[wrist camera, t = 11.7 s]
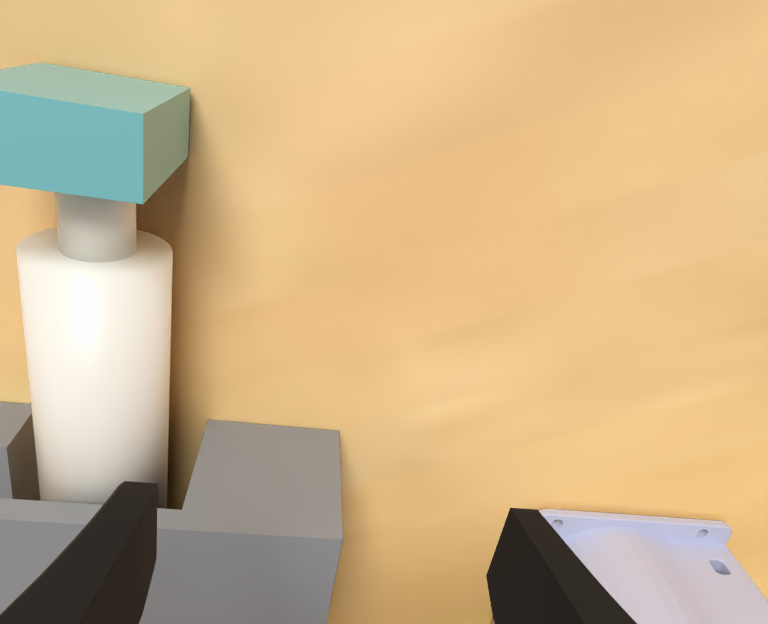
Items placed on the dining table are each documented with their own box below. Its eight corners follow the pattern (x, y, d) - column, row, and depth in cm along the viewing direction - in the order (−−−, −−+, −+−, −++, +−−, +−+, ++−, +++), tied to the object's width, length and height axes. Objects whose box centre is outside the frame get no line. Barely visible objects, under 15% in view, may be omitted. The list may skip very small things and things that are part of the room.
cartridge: (190, 87, 17) (143, 113, 13) (176, 494, 24) (142, 605, 19) (41, 62, 17) (-63, 80, 12) (70, 487, 23) (9, 600, 19)
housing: (339, 430, 23) (342, 539, 18) (303, 632, 28) (299, 758, 24) (-7, 400, 21) (-104, 513, 17) (22, 623, 26) (-46, 758, 22)
